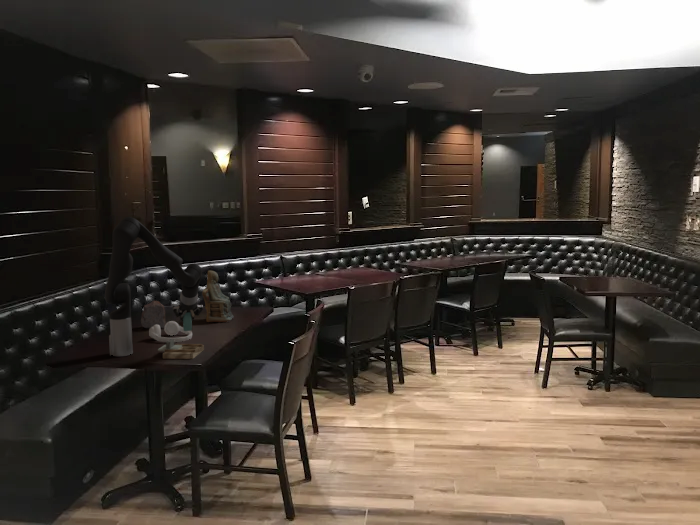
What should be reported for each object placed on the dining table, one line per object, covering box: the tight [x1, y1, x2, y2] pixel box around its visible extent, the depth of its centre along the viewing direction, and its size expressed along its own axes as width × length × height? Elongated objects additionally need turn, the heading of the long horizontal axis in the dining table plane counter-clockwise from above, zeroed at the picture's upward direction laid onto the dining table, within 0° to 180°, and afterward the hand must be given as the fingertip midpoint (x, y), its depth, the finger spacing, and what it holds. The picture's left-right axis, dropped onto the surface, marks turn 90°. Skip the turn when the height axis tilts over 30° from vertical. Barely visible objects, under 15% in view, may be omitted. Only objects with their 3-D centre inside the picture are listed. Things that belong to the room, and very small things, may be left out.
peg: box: [182, 312, 193, 332], centre depth 273 cm, size 4×4×11 cm
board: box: [162, 343, 205, 360], centre depth 272 cm, size 14×16×3 cm
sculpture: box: [202, 270, 235, 323], centre depth 347 cm, size 24×16×30 cm, turn 179°
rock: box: [140, 300, 167, 329], centre depth 329 cm, size 14×12×15 cm
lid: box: [157, 339, 182, 352], centre depth 273 cm, size 8×8×4 cm
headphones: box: [148, 320, 193, 344], centre depth 303 cm, size 20×8×20 cm
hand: (186, 319), depth 275 cm, fingers closed on peg, 3 cm apart
